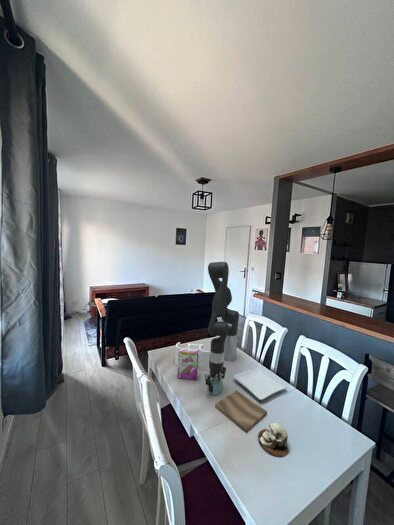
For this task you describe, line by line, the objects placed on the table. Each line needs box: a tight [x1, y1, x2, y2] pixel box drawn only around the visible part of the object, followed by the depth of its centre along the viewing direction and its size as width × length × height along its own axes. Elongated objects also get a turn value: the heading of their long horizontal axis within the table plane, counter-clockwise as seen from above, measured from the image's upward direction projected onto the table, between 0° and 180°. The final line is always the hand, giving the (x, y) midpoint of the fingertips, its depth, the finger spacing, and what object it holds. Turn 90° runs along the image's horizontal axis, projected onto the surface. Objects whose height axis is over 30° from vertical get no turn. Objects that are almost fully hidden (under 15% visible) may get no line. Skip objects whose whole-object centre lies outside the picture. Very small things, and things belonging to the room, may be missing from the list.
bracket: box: [174, 341, 210, 372], centre depth 140 cm, size 25×10×12 cm, turn 83°
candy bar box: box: [177, 347, 199, 381], centre depth 127 cm, size 11×5×16 cm, turn 84°
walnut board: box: [214, 389, 268, 433], centre depth 104 cm, size 16×18×2 cm
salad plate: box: [232, 366, 288, 401], centre depth 123 cm, size 21×21×3 cm
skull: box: [257, 422, 290, 457], centre depth 88 cm, size 12×10×10 cm
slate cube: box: [206, 377, 224, 397], centre depth 116 cm, size 6×6×6 cm
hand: (214, 389), depth 117 cm, fingers closed on slate cube, 5 cm apart
